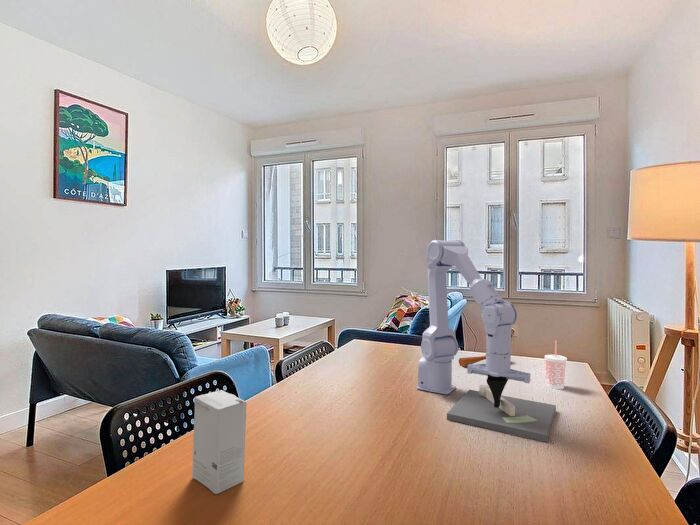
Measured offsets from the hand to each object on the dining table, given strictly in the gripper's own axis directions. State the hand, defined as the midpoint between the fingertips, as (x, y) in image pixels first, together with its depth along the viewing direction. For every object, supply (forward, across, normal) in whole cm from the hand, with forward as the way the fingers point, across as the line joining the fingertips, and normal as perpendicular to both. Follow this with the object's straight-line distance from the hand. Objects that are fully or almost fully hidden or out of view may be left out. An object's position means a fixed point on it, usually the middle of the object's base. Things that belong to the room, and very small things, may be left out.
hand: (497, 406), depth 101 cm
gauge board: (+3, +1, +2) cm, 3 cm away
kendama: (+3, -14, +47) cm, 49 cm away
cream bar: (+1, -1, +4) cm, 4 cm away
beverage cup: (+3, +10, +33) cm, 35 cm away
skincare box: (+3, -36, -55) cm, 66 cm away
